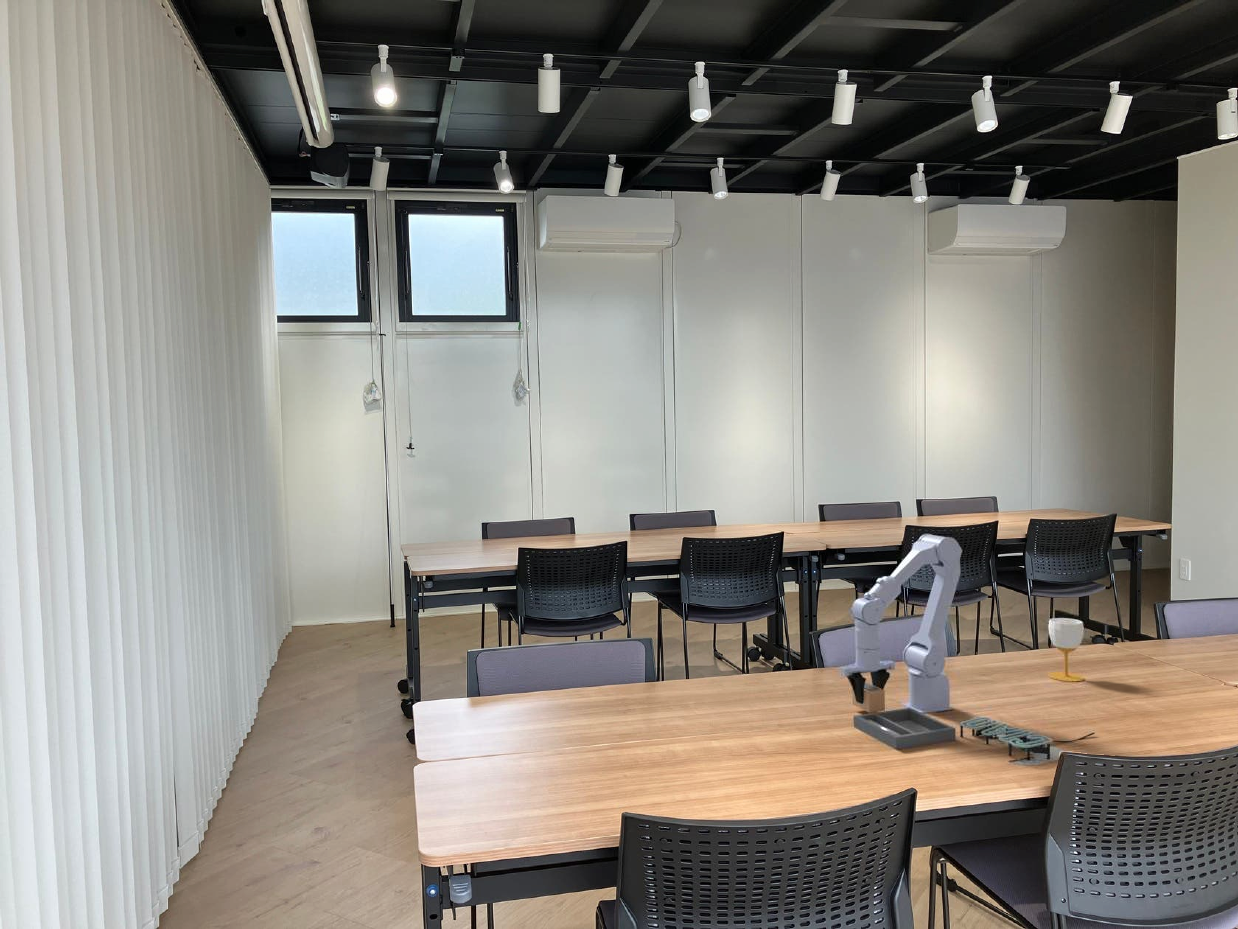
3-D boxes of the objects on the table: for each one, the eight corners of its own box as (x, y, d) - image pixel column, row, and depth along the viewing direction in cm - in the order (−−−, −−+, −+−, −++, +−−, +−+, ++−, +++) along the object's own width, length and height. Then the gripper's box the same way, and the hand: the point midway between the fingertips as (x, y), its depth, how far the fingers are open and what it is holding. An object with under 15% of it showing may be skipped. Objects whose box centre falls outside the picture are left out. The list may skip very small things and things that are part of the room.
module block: (867, 702, 216) (867, 681, 216) (884, 710, 209) (884, 689, 209) (852, 704, 214) (852, 683, 214) (869, 712, 208) (869, 691, 207)
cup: (1090, 681, 235) (1090, 624, 235) (1058, 682, 235) (1057, 624, 235) (1073, 672, 244) (1073, 617, 244) (1042, 673, 245) (1041, 618, 244)
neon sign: (1117, 727, 189) (1025, 750, 176) (1117, 746, 189) (1025, 770, 176) (1034, 701, 208) (945, 720, 195) (1034, 718, 208) (946, 738, 195)
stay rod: (865, 728, 201) (865, 720, 201) (873, 726, 202) (872, 718, 201) (898, 745, 190) (897, 737, 189) (905, 743, 190) (904, 735, 190)
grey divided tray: (909, 719, 207) (909, 707, 207) (955, 741, 192) (955, 728, 192) (853, 728, 202) (853, 715, 202) (896, 751, 187) (896, 737, 187)
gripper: (882, 640, 217) (883, 693, 218) (833, 646, 213) (834, 700, 213) (899, 646, 211) (900, 701, 211) (849, 653, 206) (850, 708, 206)
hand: (868, 701), depth 212 cm, fingers closed on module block, 4 cm apart
